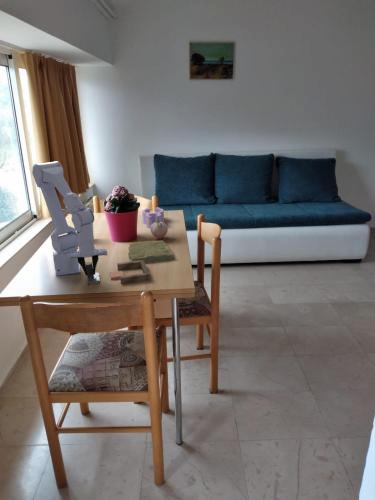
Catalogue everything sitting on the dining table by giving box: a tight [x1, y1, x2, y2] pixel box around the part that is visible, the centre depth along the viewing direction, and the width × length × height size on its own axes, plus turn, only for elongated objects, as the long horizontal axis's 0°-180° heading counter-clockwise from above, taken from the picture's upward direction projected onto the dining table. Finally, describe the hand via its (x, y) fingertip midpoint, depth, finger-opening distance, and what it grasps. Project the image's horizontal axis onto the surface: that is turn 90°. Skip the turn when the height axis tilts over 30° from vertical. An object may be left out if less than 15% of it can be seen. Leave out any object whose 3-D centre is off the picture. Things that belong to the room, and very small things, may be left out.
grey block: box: [85, 261, 101, 285], centre depth 143 cm, size 4×8×7 cm, turn 15°
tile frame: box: [116, 260, 151, 285], centre depth 148 cm, size 11×15×2 cm
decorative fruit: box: [149, 220, 168, 240], centre depth 186 cm, size 9×8×10 cm
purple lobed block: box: [141, 206, 165, 229], centre depth 213 cm, size 20×12×7 cm, turn 7°
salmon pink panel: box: [109, 270, 125, 281], centre depth 146 cm, size 5×5×2 cm
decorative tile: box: [127, 239, 174, 264], centre depth 168 cm, size 19×20×4 cm
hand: (90, 274), depth 143 cm, fingers closed on grey block, 2 cm apart
